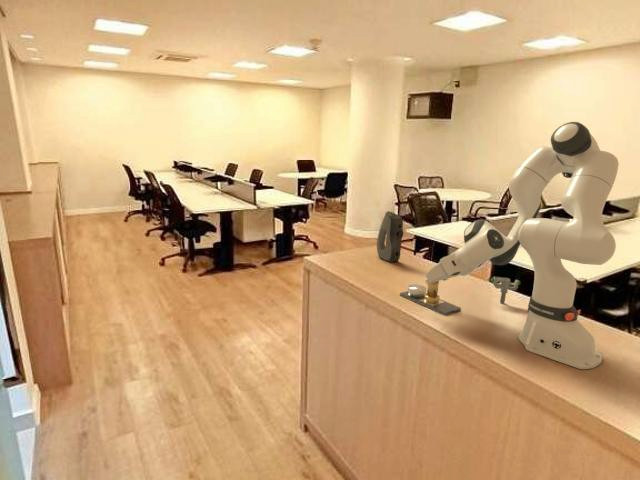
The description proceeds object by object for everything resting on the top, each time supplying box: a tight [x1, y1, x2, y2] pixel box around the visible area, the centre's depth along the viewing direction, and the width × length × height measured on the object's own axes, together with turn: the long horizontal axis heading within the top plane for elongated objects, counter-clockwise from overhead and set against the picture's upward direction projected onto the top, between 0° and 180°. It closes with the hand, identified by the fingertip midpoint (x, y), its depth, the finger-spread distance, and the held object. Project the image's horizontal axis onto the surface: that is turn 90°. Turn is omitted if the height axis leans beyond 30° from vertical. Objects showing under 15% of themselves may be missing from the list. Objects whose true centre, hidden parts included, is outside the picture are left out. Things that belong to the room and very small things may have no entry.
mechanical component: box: [490, 276, 521, 305], centre depth 160 cm, size 3×10×10 cm, turn 79°
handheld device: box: [376, 210, 404, 264], centre depth 211 cm, size 6×15×25 cm, turn 36°
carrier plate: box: [399, 283, 462, 316], centre depth 158 cm, size 22×9×4 cm, turn 36°
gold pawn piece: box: [424, 281, 440, 304], centre depth 156 cm, size 6×6×9 cm
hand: (435, 280), depth 153 cm, fingers open, 8 cm apart
